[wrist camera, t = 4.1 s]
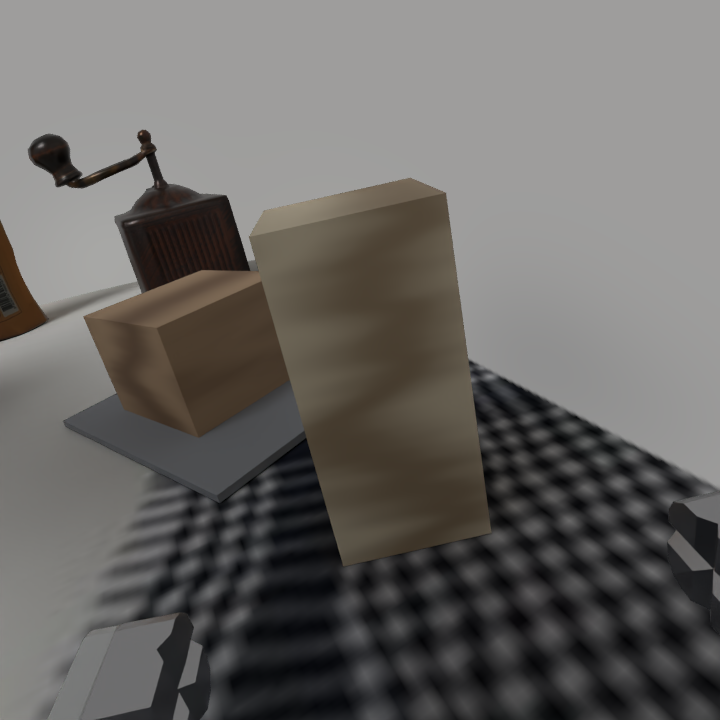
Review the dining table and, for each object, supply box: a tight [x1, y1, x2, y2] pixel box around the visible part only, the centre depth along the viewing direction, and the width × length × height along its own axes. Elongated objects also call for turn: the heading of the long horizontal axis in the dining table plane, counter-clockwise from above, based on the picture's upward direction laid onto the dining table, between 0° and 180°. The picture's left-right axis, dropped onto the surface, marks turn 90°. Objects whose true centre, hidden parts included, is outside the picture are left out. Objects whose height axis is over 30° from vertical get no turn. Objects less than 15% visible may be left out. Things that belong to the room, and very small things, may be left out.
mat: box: [63, 380, 306, 503], centre depth 31 cm, size 16×11×1 cm
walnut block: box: [83, 270, 290, 438], centre depth 31 cm, size 8×8×6 cm
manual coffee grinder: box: [28, 130, 250, 293], centre depth 54 cm, size 16×11×18 cm
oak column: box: [249, 178, 491, 567], centre depth 18 cm, size 5×5×11 cm
